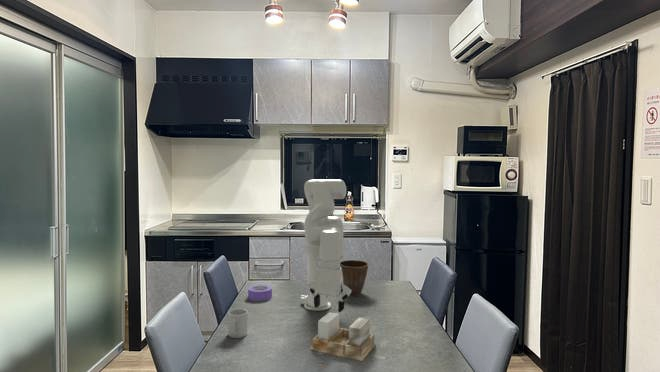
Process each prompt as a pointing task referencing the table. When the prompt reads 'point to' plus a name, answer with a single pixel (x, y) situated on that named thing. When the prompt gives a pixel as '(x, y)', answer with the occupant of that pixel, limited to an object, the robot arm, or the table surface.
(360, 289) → the plant pot
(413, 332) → the table surface
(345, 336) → the rack
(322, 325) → the panel
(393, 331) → the table surface
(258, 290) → the tape roll
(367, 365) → the table surface
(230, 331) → the cup
